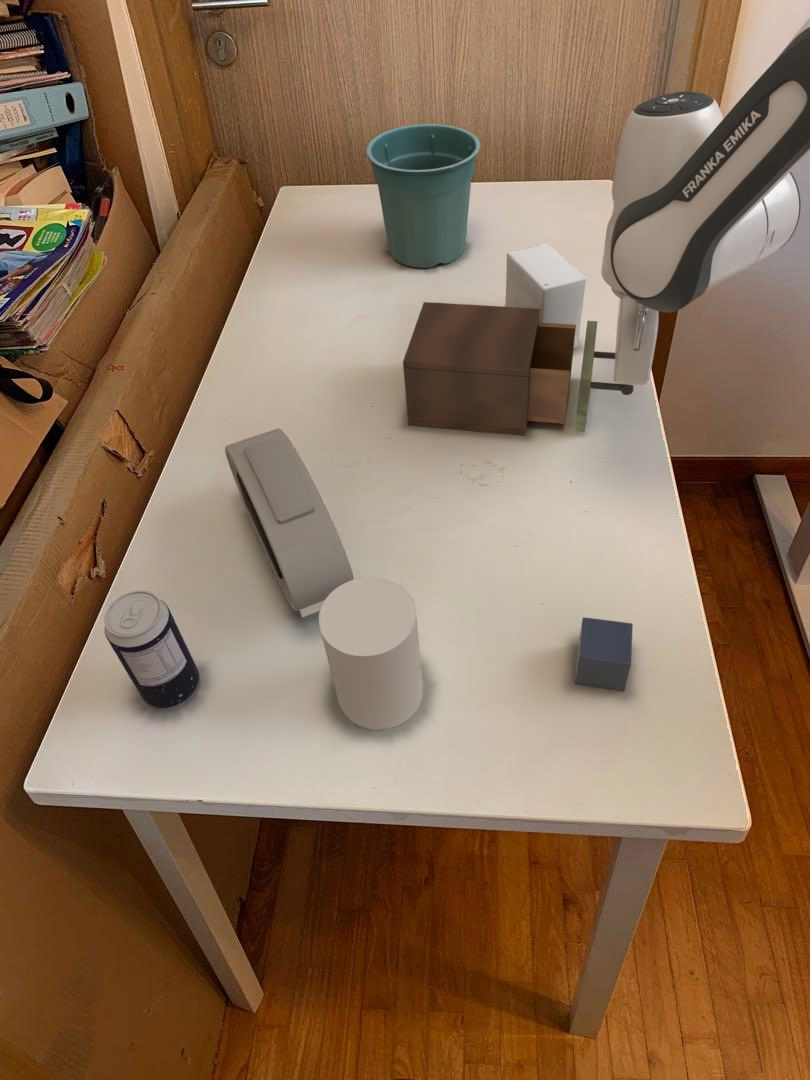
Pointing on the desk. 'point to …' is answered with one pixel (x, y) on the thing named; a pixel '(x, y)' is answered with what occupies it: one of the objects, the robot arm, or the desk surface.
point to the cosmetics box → (545, 285)
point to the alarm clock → (289, 519)
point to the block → (604, 654)
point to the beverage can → (151, 648)
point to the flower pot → (424, 190)
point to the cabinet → (470, 367)
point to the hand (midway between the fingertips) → (626, 367)
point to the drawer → (563, 374)
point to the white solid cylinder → (373, 651)
